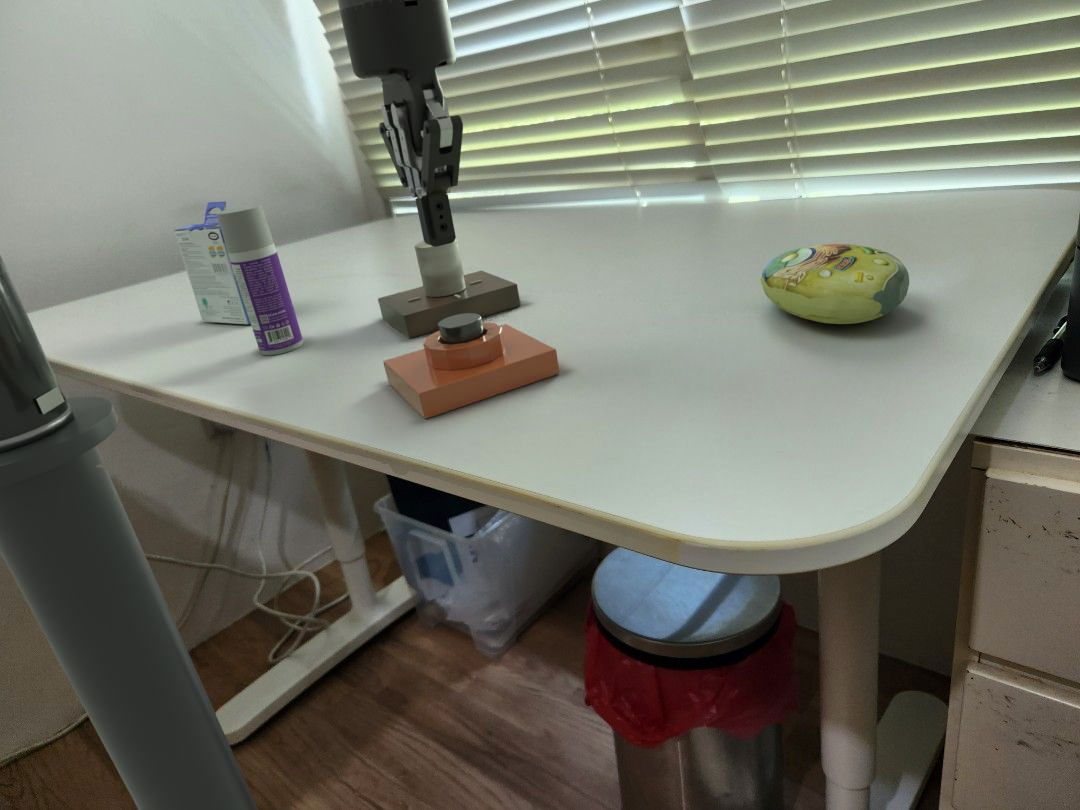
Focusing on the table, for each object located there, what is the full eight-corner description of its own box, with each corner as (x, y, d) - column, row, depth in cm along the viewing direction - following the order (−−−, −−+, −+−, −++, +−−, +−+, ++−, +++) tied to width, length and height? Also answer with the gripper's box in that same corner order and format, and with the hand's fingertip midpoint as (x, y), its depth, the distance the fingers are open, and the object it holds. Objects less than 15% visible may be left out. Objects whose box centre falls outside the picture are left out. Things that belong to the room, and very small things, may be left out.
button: (451, 350, 60) (446, 330, 60) (436, 340, 63) (432, 321, 63) (491, 338, 62) (487, 318, 61) (475, 329, 65) (471, 310, 64)
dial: (472, 289, 82) (461, 236, 79) (433, 299, 80) (421, 246, 78) (457, 282, 86) (447, 231, 83) (419, 292, 84) (408, 241, 82)
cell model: (805, 321, 57) (736, 220, 68) (811, 388, 63) (746, 284, 73) (946, 270, 56) (853, 175, 67) (939, 342, 62) (854, 244, 72)
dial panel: (409, 338, 77) (403, 314, 76) (382, 319, 86) (377, 297, 85) (520, 305, 82) (516, 282, 81) (485, 290, 90) (481, 268, 89)
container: (311, 338, 83) (271, 201, 77) (290, 353, 79) (246, 210, 73) (274, 341, 84) (232, 207, 78) (251, 356, 80) (205, 216, 74)
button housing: (425, 419, 58) (413, 371, 56) (388, 383, 66) (377, 341, 64) (560, 373, 62) (553, 328, 60) (509, 345, 70) (502, 305, 69)
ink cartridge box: (284, 311, 96) (250, 197, 90) (249, 326, 92) (211, 207, 86) (236, 309, 101) (201, 201, 96) (201, 323, 97) (162, 211, 92)
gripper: (320, 17, 57) (373, 244, 64) (364, -11, 46) (423, 267, 53) (413, 6, 59) (454, 225, 66) (477, -23, 48) (518, 243, 55)
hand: (440, 243), depth 59 cm, fingers closed
